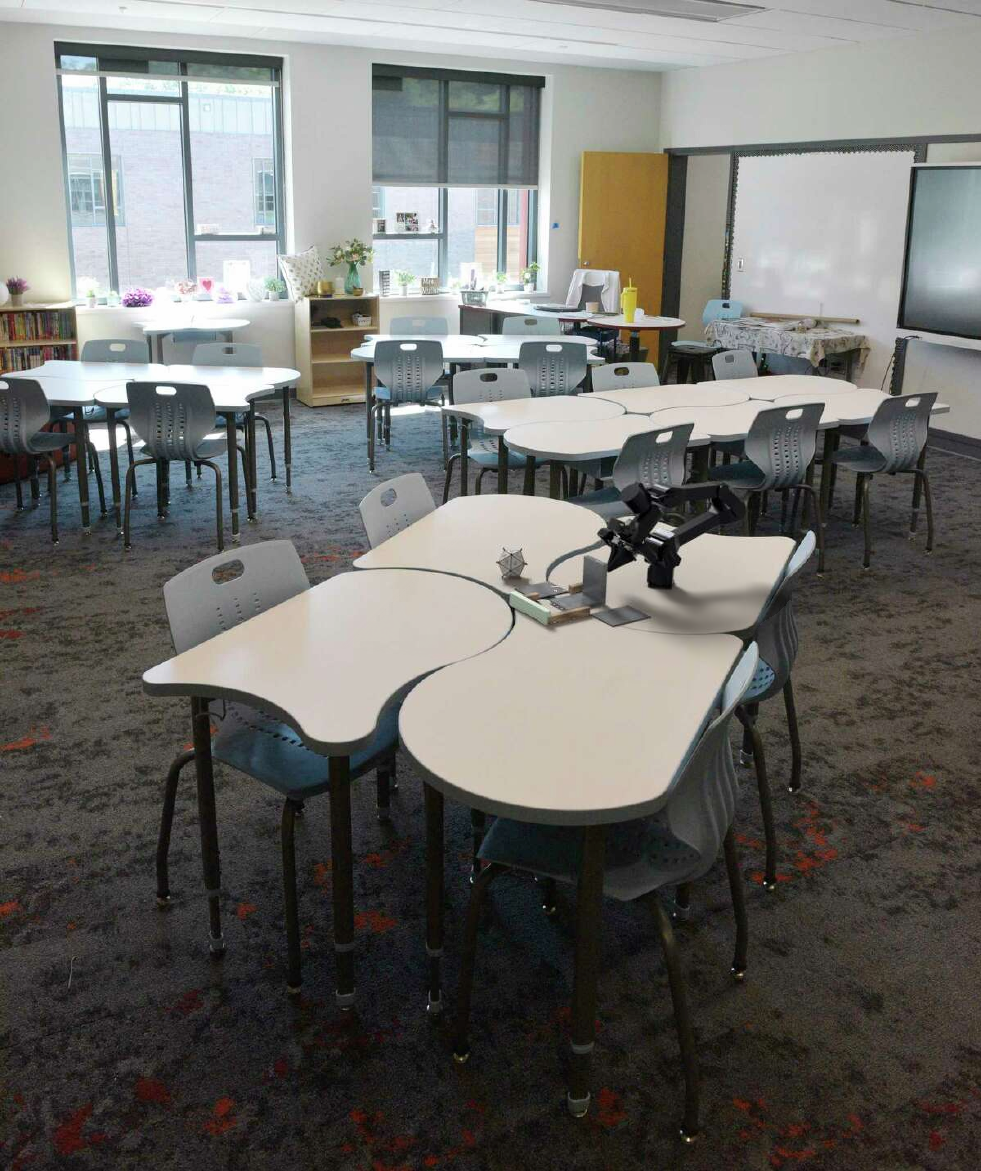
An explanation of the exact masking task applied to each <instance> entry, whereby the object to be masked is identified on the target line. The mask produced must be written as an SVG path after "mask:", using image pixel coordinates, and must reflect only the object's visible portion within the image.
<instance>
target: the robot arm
mask: <svg viewBox="0 0 981 1171" xmlns="http://www.w3.org/2000/svg"><path fill="white" fill-rule="evenodd" d="M619 499H620V501H621V503H623V504H624V506H626V508H627V509H628V510H629V511H630V513H632V514H633V515H634V517H633V518H632V519H631V518H628V519H626V520H625V521H623V520H621V519H618V518H615V517H613V516H611V517H610V519H609V521H608V524H607V526H606V527H601V528H600V529H599V530H598V532H597V533H596V535H597V536H598V538H600V540H602V541H603V543H604V544H605V545H606V546H607V547H609V548H610V553H609V557H608V560H607V562H606V563H607V564H608V566H607V573H609V574H610V573H611V572H613V571H615V570H617V569H619V568H621V567H623V566H625V565H628V564H631V563H632V562H637V561H638V559H637V557H638V555H639V556H643V560H644V563H645V564H649V565H648V567H647V573H646V583H647V587H648V588H656V589H667V590H672V589H673V587H674V584H675V579H674V578H675V569H676V567H679V566H680V565H681V562H682V557H681V556H680V555H679V554H678V553H679V551H680V549H681V547H683V546H684V545H686V544H688V543H690V542H691V541H693V540H696V539H697V538H698V537H699V538H700V537H701V536H702V535H704V534H706V533H708V532H710V531H711V530H713V529H715V528H717V527H719V526H723V525H724V526H725V525H727V526H728V525H733V524H735V523H736V524H737V523H738V522H741V521H742V520H743V519H744V518H745V516H746V515H747V507H746V504H745V502H744V501H742V500H741V499H740V498H739V497H738V496H737V495H736V494H735V493H733V492H732V491H731V490H730V489H729V487H728V486H727V485H726V484H725V483H723V482H719V481H716V480H711V481H708V482H707V481H706V482H698V483H688V484H680V485H679V484H674V483H667V482H659V481H658V482H656V483H654V484H653V486H651V487H647V488H646V487H645V485H644V484H643V483H642V481H640V480H639V481H638V480H635V482H633V483H631V484H629V485H627V486H625V487H624V488H622V490H621V491H620V493H619ZM701 500H709V501H710V503H711V506H710V508H709V510H707V511H706V512H704V513H702V514H700V515H698V516H697V517H694V518H693V519H691V520H689V521H687V522H685V523H683V524H682V525H680V526H678V527H676V528H674V529H672V530H668V529H664V528H662V527H660V528H657V529H656V530H655V531H653V530H654V528H655V527H656V526H657V525H658V523H659V521H663V522H665V523H666V522H667V521H668V516H667V513H668V511H667V510H665V509H661V508H660V507H664V508H666V509H670V510H672V509H674V508H677V507H681V506H682V505H683V504H684V503H687V502H693V501H701Z"/></svg>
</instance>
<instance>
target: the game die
mask: <svg viewBox="0 0 981 1171" xmlns="http://www.w3.org/2000/svg"><path fill="white" fill-rule="evenodd" d="M502 550H503V551H502V554H501V556H500V558H499V560H498V561H496V562H495V563H496V564H497V565H499V566H498V567H499V568H500V571H501V573H502V575H501V579H503V578H504V577H518V578H519V580H522V576H521V574H522V573H523V570H524V568H525V566H528V563H527V562H526V561H525V558H524V556H523V552H522V551H523V548H521V547H520V549H519V550H515V549H505V547H502Z"/></svg>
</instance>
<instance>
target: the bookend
mask: <svg viewBox="0 0 981 1171" xmlns="http://www.w3.org/2000/svg"><path fill="white" fill-rule="evenodd" d="M607 563H608V562H604V561H603V560H600V559H598V558H595V557H594V556H591V555H584V556H583V563H582V564H583V568H582V582H583V586H582V592H578V593H574V594H570V595H565V596H559V597H556V598H551V599H549V600H548V602H549V601H550V602H551V603H552V604H555V605H556V606H558V607H559V608H562V609H563V610H565V611H566V610H570V609H575V608H579V607H583V606H588V607H590V609H591V608H597V607H600V606H605V605H606V602H607V600H606V599H607V583H608V572H607V566H608V564H607ZM604 604H605V605H604ZM559 608H558V609H559ZM563 610H562V611H563Z"/></svg>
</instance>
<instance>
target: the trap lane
mask: <svg viewBox="0 0 981 1171" xmlns="http://www.w3.org/2000/svg"><path fill="white" fill-rule="evenodd" d="M551 586H558V585H557V584H555V583H553V582H551V581H549V580H548V581H543V582H539V583H534V584H530V585H525V586H519V587H516V588H514V590H515V591H516V592H518V593H519V594H521V595H523V596H525V597H526V598H528V599H530V600H532V601H537V600H539V601H540V599H543V598H548V597H552V596H557V594H558V595H561V594H560V593H563V594H566V593H565V592H567V593H569V592H570V593H569V594H571V593H574V594H577V593H576V592H578V593H581V592H580V591H582V586H583V581H582V582H576V583H572V584H568V590H567V589H565V588H563V587H561V586H559V587H551ZM554 590H557V592H556V591H554ZM563 590H565V591H563ZM588 616H591V617H593V618H594V619H597V620H599V621H601V622H602V623H605V624H606V625H608V626H610V627H612V628H614V627H618V626H621V625H625V624H630V623H634V622H638V621H642V620H647V619H650V618H651V617H652V616H650V615H649V614H647V613H645V612H643V611H641V610H638V609H636V608H634V607H632V606H630V605H629V604H627V605H623V606H618V607H615V608H614V607H613V608H609V609H606V610H601V611H597V612H594V613H591V608H590V607H588V606H583V607H579V608H575V609H570V610H566V611H563V610H561V611H559V612H553V613H551V617H548V623H547V624H550V625H552V624H551V623H554V622H559V623H562V621H563V622H567V621H570V620H569V619H571V620H574V619H573V618H576V619H579V618H578V617H580V618H584V617H588ZM566 620H567V621H566ZM554 624H555V623H554Z"/></svg>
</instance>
